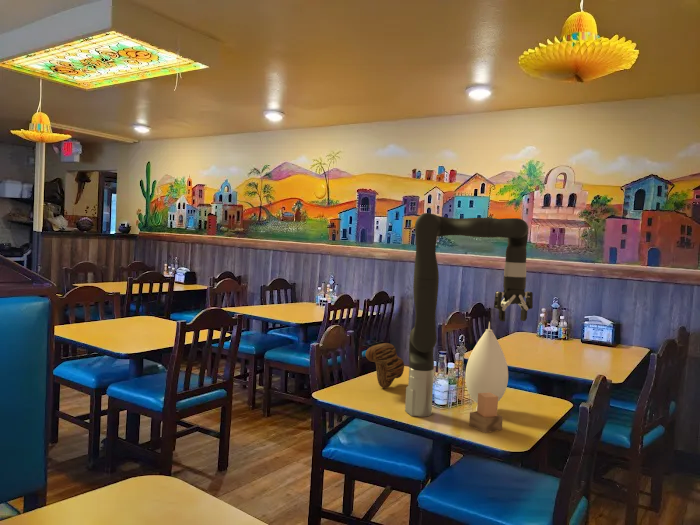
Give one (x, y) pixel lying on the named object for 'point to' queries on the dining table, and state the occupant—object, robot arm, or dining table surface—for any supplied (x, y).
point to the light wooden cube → (487, 404)
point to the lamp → (486, 368)
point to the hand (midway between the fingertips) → (512, 320)
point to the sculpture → (385, 363)
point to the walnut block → (485, 422)
